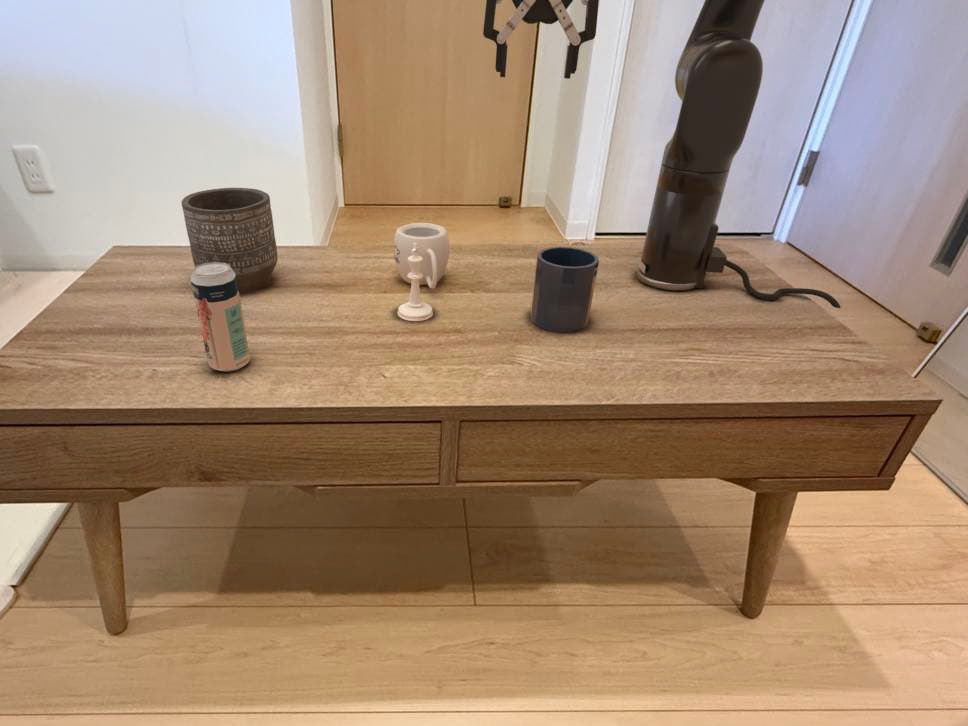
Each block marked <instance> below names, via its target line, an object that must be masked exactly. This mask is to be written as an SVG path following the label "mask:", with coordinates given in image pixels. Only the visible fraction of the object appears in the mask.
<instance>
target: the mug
mask: <svg viewBox="0 0 968 726" xmlns="http://www.w3.org/2000/svg"><path fill="white" fill-rule="evenodd" d="M449 237H450V236H449V234H448V231H447V229H446V228H445V227H443V226H442V225H438V224H436V223H429V222H412V223H408V224H405V225H402V226H399V227H398V228H397V229H396V232H395V234H394V238H393V239H394V240H393V256H394V262H395V266H396V269H397V272H398V274H399V277H400V278H401V279H402V280H403V281H404V282H405V283H408V284H411V282H412V279H410V278H408V277H407V275H408V273H410V272H412V271H411V268H410V265H409V262H408V257H410V256H413V254H411V250H412V249H413V244H414V243H417V244H418V245H417V246H418V247H419V251H417V255H418V256H421V257H422V258H423V261H422V264H421V267H420V270H419V272H421V273H422V274H423V278H421V279H419V286H428V288H429V289H432V290H434V289H435V288H436V287H437V283H438V282H439V281H440V280H441V279H442V278H443V276H444V274H445V272H446V269H447V266H448V263H449V259H450V238H449Z"/></svg>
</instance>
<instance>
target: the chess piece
mask: <svg viewBox="0 0 968 726" xmlns="http://www.w3.org/2000/svg"><path fill="white" fill-rule="evenodd" d="M417 245H418V244H417V243H414V244H413V249H412V250H411V254H413V256H410V257H408V262H409V265H410V268H411V271H412V272H410V273H408V275H407V277H408V278H410V279H412V282H411V285H410V293H409V299H408V301H406V302H405V303H402V304H401V305H399V307H398V308H397V315H398V317H399V318H400V319H402V320H405V321H409V322H422V321H427V320H428V319H431V318H432V317H433V315H434V312H433V307H432V306H431V305H430V304H429V303H426V302H424V301H423V300H422V295H421V289H420V285H419V279H421V278H423V274H422V273H421V272H419V270H420V267H421V264H422V261H423V258H422V257H421V256H418V255H417V251H419V247H418V246H417Z"/></svg>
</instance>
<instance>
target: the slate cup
mask: <svg viewBox="0 0 968 726" xmlns="http://www.w3.org/2000/svg"><path fill="white" fill-rule="evenodd" d="M599 263H600V260H599V257H598V255H596V254H595V253H593V252H592V251H589V250H586V249H583V248H579V247H574V246H573V247H572V246H552V247H547V248H543V249H541V250H539V252H537V255H536V262H535V271H534V280H533V289H532V297H531V306H530V321H531V323H533V324H534V325H535V326H537V327H538V328H541V329H543V330H546V331H550V332H553V333H554V332H555V333H574V332H579V331H581V330H584V329H585V328H586V327H587V326H588V323H589V321H590V315H591V309H592V303H593V298H594V292H595V286H596V281H597V275H598V270H599Z"/></svg>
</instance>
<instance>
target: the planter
mask: <svg viewBox="0 0 968 726" xmlns="http://www.w3.org/2000/svg"><path fill="white" fill-rule="evenodd" d="M181 208H182V212H183V217H184V224H185V229H186V233H187V238H188V242H189V247H190V253H191V257H192V262H193V266H194V268H195V267H196V266H199V265H201V264H204V263H211V262H220V263H226V264H228V265H229V266H230V267H231V269H232V270H233V271H234V272H235V274H236V279H237V285H238V291H239V294H246V293H251V292H255V291H258V290H260V289H262V288H264V287H265V286H267V284H268V282H269V281H270V279H271V277H272V275H273V272H274V271H275V268H276V266H277V263H278V259H279V256H278V248H277V241H276V236H275V235H276V234H275V227H274V219H273V211H272V205H271V197H270V195H269V194H268V193H267V192H265V191H263V190H261V189H256V188H247V187H222V188H221V187H220V188H212V189H207V190H200V191H196V192H193V193H190V194H188V195H186V196H184V197H183V198H182V200H181Z"/></svg>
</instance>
